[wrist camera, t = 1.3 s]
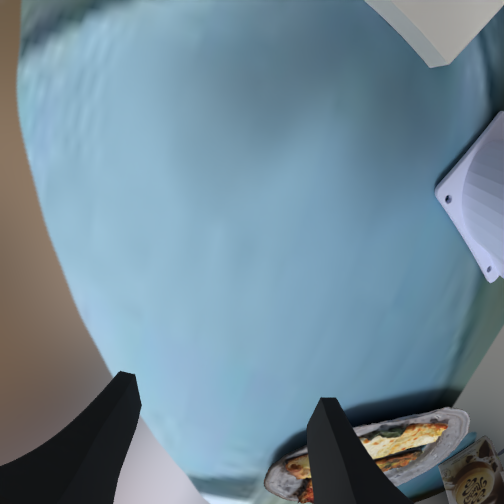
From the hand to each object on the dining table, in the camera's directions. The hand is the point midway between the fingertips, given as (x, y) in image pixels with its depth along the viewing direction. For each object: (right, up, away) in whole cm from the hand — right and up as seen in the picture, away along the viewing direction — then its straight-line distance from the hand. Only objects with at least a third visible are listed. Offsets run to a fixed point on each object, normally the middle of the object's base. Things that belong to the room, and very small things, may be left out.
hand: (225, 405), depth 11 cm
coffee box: (+35, -26, +21) cm, 49 cm away
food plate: (+15, -18, +18) cm, 30 cm away
